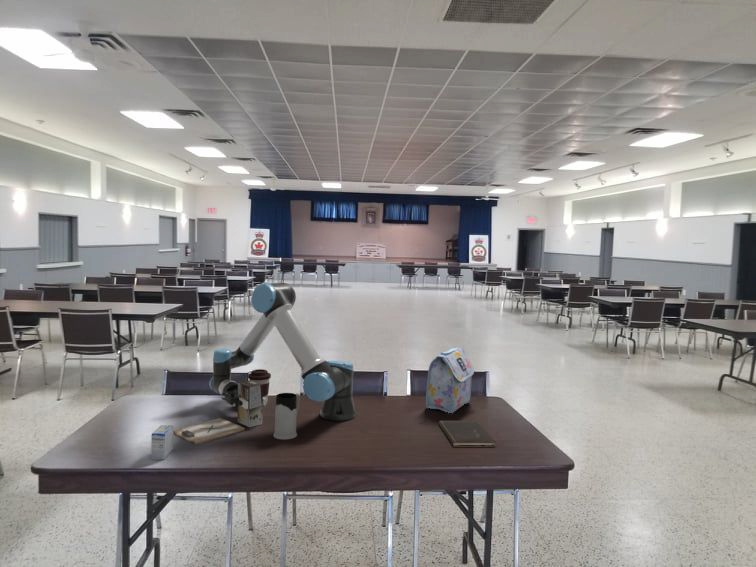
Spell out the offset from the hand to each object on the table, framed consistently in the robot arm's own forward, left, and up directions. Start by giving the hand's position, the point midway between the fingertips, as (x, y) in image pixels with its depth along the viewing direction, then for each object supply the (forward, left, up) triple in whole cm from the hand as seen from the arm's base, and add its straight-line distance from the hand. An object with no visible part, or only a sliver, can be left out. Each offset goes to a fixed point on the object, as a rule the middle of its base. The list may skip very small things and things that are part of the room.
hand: (256, 403), depth 184 cm
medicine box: (0, +37, -9) cm, 38 cm away
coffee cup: (+23, -19, -9) cm, 31 cm away
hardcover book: (-64, -51, -10) cm, 82 cm away
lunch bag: (-41, -79, -9) cm, 89 cm away
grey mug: (-14, -5, -9) cm, 18 cm away
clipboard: (+8, +15, -9) cm, 19 cm away
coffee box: (+5, -1, -9) cm, 10 cm away
